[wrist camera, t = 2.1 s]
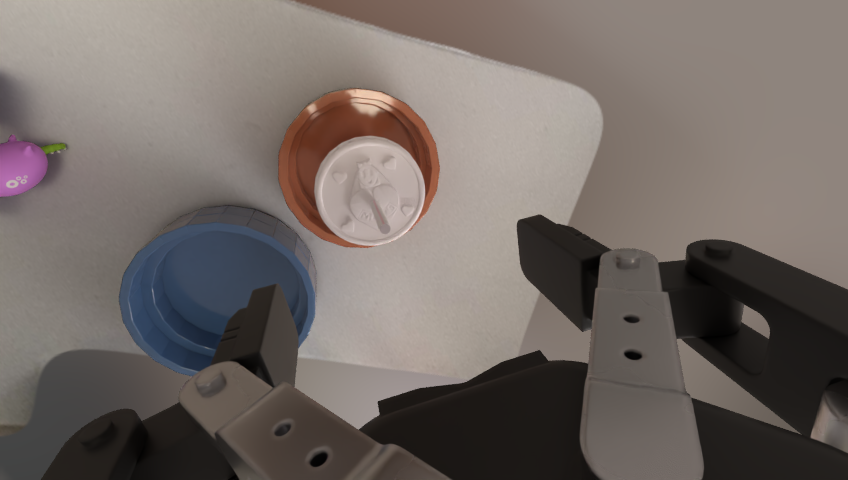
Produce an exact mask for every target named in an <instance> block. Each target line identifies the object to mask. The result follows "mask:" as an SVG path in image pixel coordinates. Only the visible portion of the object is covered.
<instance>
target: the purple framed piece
mask: <svg viewBox="0 0 848 480" xmlns="http://www.w3.org/2000/svg"><path fill="white" fill-rule="evenodd" d="M60 149H63V150H65V149H66V145H65V144H63V143H60V144H52V145H46V146H43V147H38V146H37V145H35V144H33V143H30V142H25V141H17V140H16V137H15V135H11V136H10V137H9V140H8V142H7V143H2V144H0V197H5V196H14V195H18V194H21V193H23V192H26V191H28V190H29V189H31V188H33V187H34V186H35V185H37V184H38V183H39V182H40V181H41V180H42V179H43V177H44V176H45V174H46V172H47V168H48V161H47V157H46V155H47V154H49V153H50V154H52V155H53V154H54V153H53V152H54V151H57V152H58V153H61V152H60V151H59V150H60ZM66 150H67V149H66Z"/></svg>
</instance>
